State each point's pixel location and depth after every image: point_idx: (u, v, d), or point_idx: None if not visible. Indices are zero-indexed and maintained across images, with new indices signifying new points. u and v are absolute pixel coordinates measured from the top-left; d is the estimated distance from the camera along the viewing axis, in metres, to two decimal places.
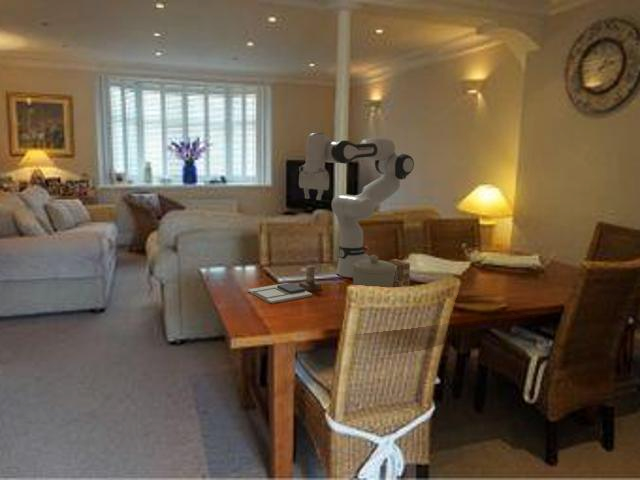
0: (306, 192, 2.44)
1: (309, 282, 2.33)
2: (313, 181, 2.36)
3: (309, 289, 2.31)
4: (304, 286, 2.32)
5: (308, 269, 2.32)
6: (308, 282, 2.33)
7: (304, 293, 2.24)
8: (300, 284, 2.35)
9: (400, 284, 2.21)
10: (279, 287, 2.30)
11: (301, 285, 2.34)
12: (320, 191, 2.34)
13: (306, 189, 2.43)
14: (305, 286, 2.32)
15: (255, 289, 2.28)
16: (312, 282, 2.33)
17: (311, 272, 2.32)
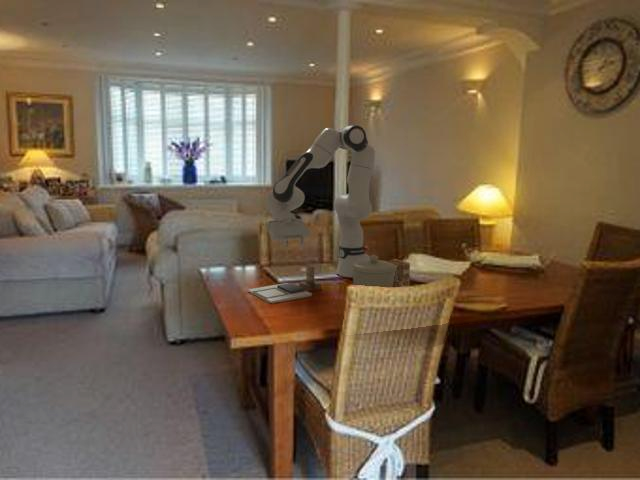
0: (301, 239, 2.46)
1: (309, 282, 2.33)
2: None
3: (309, 289, 2.31)
4: (304, 286, 2.32)
5: (308, 269, 2.32)
6: (308, 282, 2.33)
7: (304, 293, 2.24)
8: (300, 284, 2.35)
9: (400, 284, 2.21)
10: (279, 287, 2.30)
11: (301, 285, 2.34)
12: (279, 239, 2.39)
13: (300, 237, 2.46)
14: (305, 286, 2.32)
15: (255, 289, 2.28)
16: (312, 282, 2.33)
17: (311, 272, 2.32)
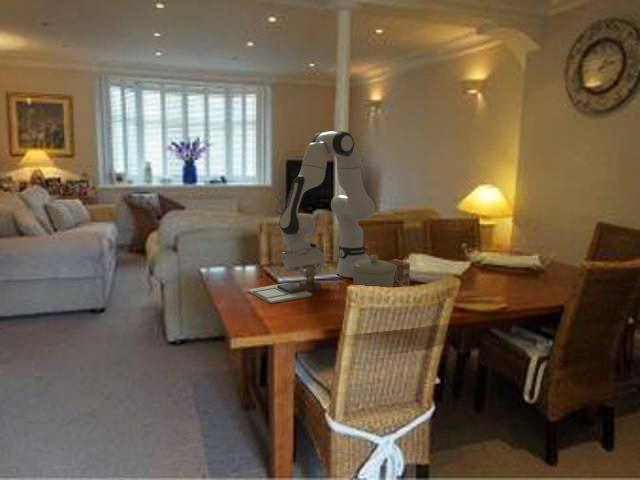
0: None
1: (309, 282, 2.33)
2: None
3: (309, 289, 2.30)
4: (304, 286, 2.32)
5: (308, 269, 2.32)
6: (308, 282, 2.33)
7: (304, 293, 2.24)
8: (300, 284, 2.35)
9: (400, 284, 2.21)
10: (279, 287, 2.30)
11: (301, 285, 2.34)
12: (299, 270, 2.33)
13: None
14: (305, 286, 2.32)
15: (255, 289, 2.28)
16: (312, 282, 2.33)
17: (311, 272, 2.32)
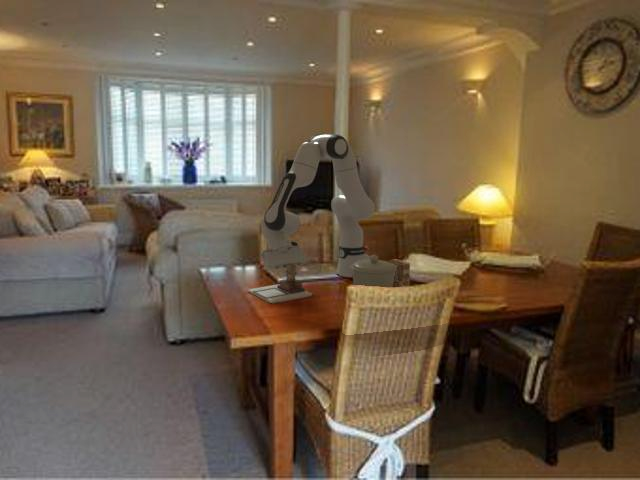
0: (295, 268, 2.30)
1: (289, 280, 2.26)
2: None
3: (289, 287, 2.24)
4: (284, 284, 2.26)
5: (288, 267, 2.26)
6: (288, 280, 2.27)
7: (304, 293, 2.24)
8: (280, 282, 2.28)
9: (400, 284, 2.21)
10: (279, 287, 2.30)
11: (281, 283, 2.28)
12: (279, 269, 2.27)
13: None
14: (285, 284, 2.25)
15: (255, 289, 2.28)
16: (292, 280, 2.27)
17: (291, 270, 2.26)
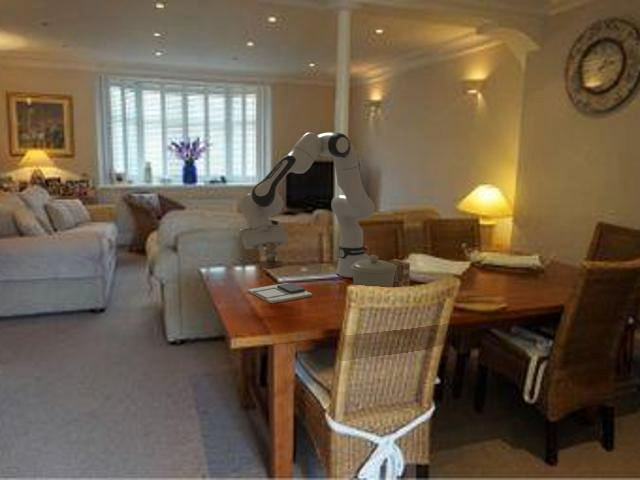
0: (275, 248, 2.23)
1: (269, 260, 2.19)
2: None
3: (268, 267, 2.17)
4: (263, 264, 2.18)
5: (268, 246, 2.18)
6: (268, 260, 2.19)
7: (304, 293, 2.24)
8: (260, 262, 2.21)
9: (400, 284, 2.21)
10: (279, 287, 2.30)
11: (261, 263, 2.20)
12: (258, 248, 2.19)
13: None
14: (264, 264, 2.18)
15: (255, 289, 2.28)
16: (272, 260, 2.19)
17: (271, 249, 2.18)
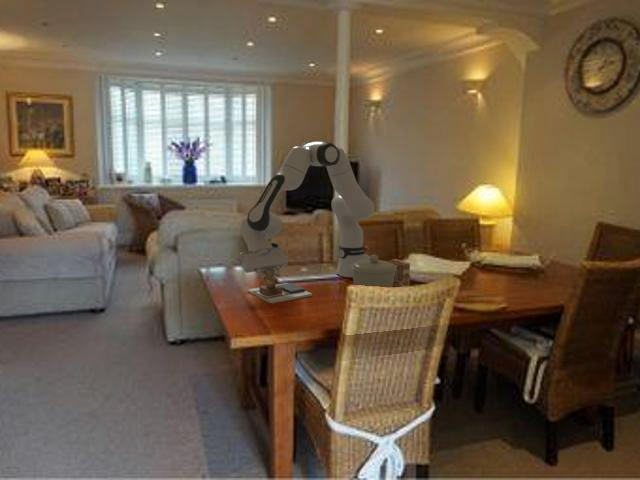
0: (277, 270, 2.25)
1: (269, 286, 2.21)
2: None
3: (269, 294, 2.19)
4: (264, 291, 2.21)
5: (268, 273, 2.20)
6: (268, 286, 2.21)
7: (304, 293, 2.24)
8: (260, 288, 2.23)
9: (400, 284, 2.21)
10: None
11: (261, 289, 2.22)
12: (256, 271, 2.20)
13: (275, 268, 2.26)
14: (265, 291, 2.20)
15: (255, 289, 2.28)
16: (272, 286, 2.21)
17: (271, 276, 2.20)
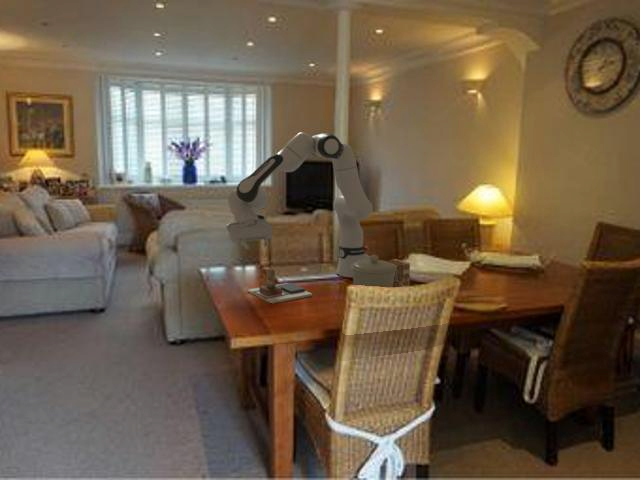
0: (265, 241, 2.35)
1: (269, 286, 2.21)
2: None
3: (269, 294, 2.19)
4: (264, 291, 2.21)
5: (268, 273, 2.20)
6: (268, 286, 2.21)
7: (304, 293, 2.24)
8: (260, 288, 2.23)
9: (400, 284, 2.21)
10: None
11: (261, 289, 2.22)
12: (240, 242, 2.28)
13: (264, 238, 2.35)
14: (265, 291, 2.20)
15: (255, 289, 2.28)
16: (272, 286, 2.21)
17: (271, 276, 2.20)
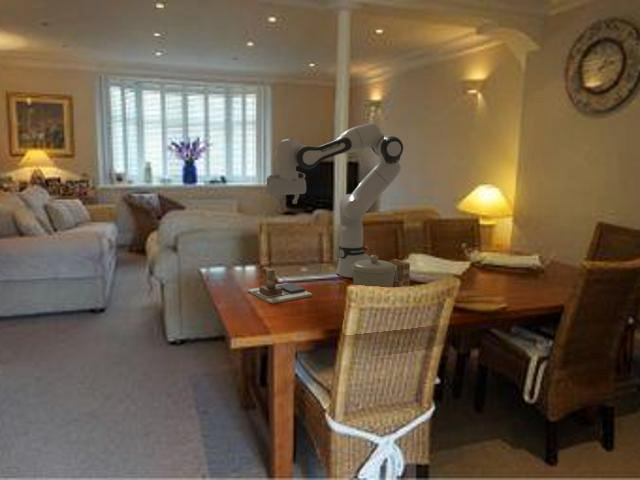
0: (295, 197, 2.49)
1: (269, 286, 2.21)
2: None
3: (269, 294, 2.19)
4: (264, 291, 2.21)
5: (268, 273, 2.20)
6: (268, 286, 2.21)
7: (304, 293, 2.24)
8: (260, 288, 2.23)
9: (400, 284, 2.21)
10: None
11: (261, 289, 2.22)
12: (273, 196, 2.42)
13: (295, 194, 2.49)
14: (265, 291, 2.20)
15: (255, 289, 2.28)
16: (272, 286, 2.21)
17: (271, 276, 2.20)
